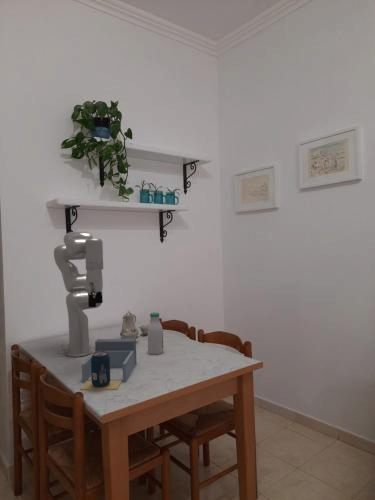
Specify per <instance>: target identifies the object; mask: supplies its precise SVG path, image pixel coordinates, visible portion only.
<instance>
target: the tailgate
mask: <svg viewBox="0 0 375 500" xmlns="http://www.w3.org/2000/svg"><path fill="white" fill-rule="evenodd" d="M122 382H123V379H110V383H109V384H108V385H107V386H106V387H101V388H97V387H94V386H93V384H92V379H88V380H87V381H86V382H83V384H82V386H81V387H80V388H79V391H105V390H106V391H117V390H119V388H120V386H121V384H122Z"/></svg>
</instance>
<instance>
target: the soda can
mask: <svg viewBox="0 0 375 500" xmlns="http://www.w3.org/2000/svg"><path fill="white" fill-rule="evenodd" d="M94 352H95V351H94ZM94 352H92V353H91V355H93V356H92V358H91V376H90V377H91V380H92V384H93V386H94V387H97V388H101V387H106V386H107V385H108V384H109V383H110V380H111V368H110V357H109V355H108V352H105V351H100V352H95V353H94Z"/></svg>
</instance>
